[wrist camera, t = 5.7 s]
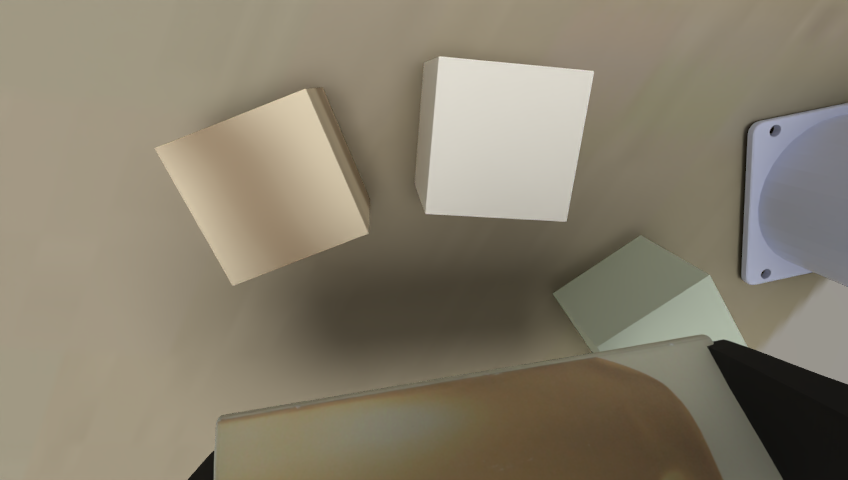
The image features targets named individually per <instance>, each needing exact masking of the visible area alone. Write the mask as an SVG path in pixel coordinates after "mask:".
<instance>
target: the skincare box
mask: <svg viewBox="0 0 848 480" xmlns="http://www.w3.org/2000/svg"><path fill="white" fill-rule="evenodd" d="M713 344H714V343H713V341H712V339H711V338H710V337H709V336H707V335H704V334H701V335H695V336H688V337H683V338H677V339H671V340H665V341H659V342H654V343H648V344H642V345H636V346H631V347H625V348H619V349H613V350H607V351H601V352H595V353H589V354H583V355H577V356H571V357H565V358H559V359H554V360H548V361H542V362H536V363H530V364H524V365H518V366H512V367H506V368H499V369H493V370H487V371H481V372H475V373H469V374H463V375H457V376H451V377H445V378H440V379H434V380H428V381H422V382H416V383H410V384H404V385H398V386H392V387H386V388H381V389H375V390H369V391H363V392H358V393H352V394H346V395H340V396H334V397H328V398H322V399H316V400H310V401H304V402H297V403H291V404H285V405H279V406H273V407H268V408H262V409H256V410H250V411H244V412H238V413H232V414H226V415H221V416H220V417H219V418H218V420H217V423H216V437H215V451H214V480H783V478H782V477H781V475H780V473H779V471H778V470H777V468H776V466H775V465H774V463H773V461H772V459H771V458H770V456H769V454H768V452H767V451H766V449H765V447H764V446H763V444H762V442H761V440H760V439H759V437H758V435H757V434H756V432H755V430H754V429H753V427H752V425H751V423H750V422H749V420H748V418H747V417H746V415H745V413H744V412H743V410H742V408H741V406H740V405H739V403H738V401H737V400H736V398H735V396H734V395H733V393H732V391H731V390H730V388H729V386H728V384H727V383H726V381H725V379H724V377H723V375H722V373H721V371H720V369H719V368H718V366H717V364H716V362H715V360H714V358H713V357H712V355H711V353H710V351H709V349H708V347H707V346H710V345H713Z"/></svg>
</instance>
